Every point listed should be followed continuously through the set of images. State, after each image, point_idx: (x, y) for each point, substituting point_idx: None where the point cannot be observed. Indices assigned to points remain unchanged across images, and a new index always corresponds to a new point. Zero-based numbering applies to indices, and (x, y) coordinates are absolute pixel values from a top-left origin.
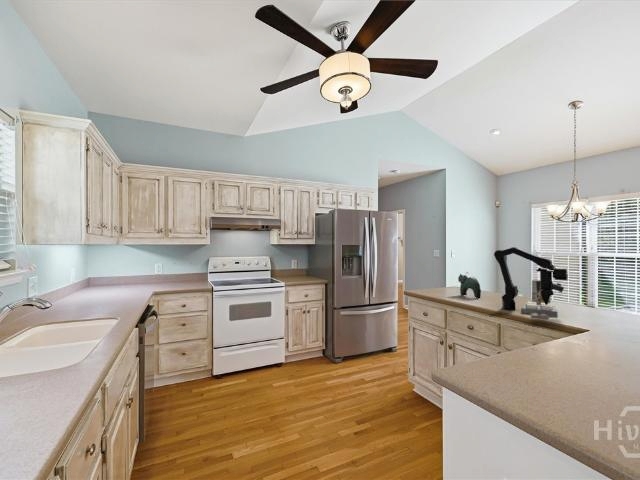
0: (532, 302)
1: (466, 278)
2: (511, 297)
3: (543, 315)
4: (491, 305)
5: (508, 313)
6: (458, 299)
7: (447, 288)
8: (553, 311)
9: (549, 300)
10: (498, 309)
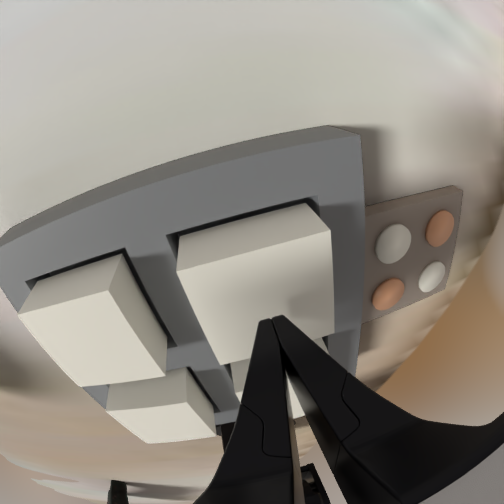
0: (154, 423)
1: None
2: (321, 483)
3: (444, 230)
4: (216, 460)
5: (384, 377)
6: (197, 493)
7: (71, 495)
8: (363, 179)
9: None
10: (301, 429)
